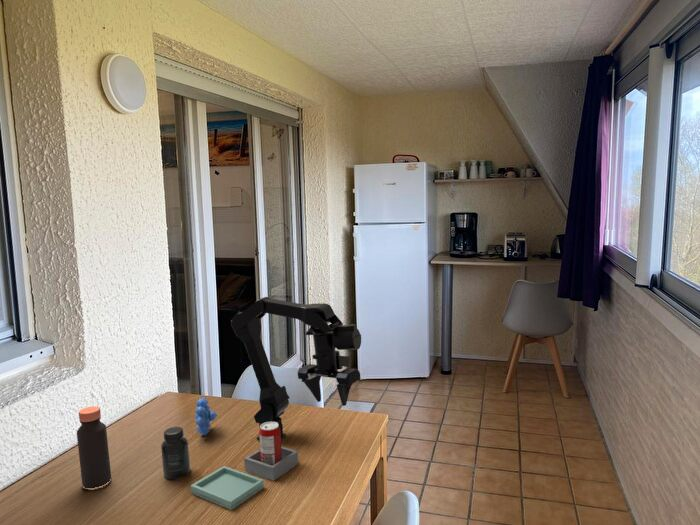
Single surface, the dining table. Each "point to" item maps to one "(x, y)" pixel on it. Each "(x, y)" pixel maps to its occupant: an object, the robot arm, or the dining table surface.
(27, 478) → the dining table surface
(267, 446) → the soda can
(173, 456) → the supplement bottle
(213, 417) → the grapes
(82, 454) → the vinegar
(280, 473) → the frame
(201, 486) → the tray
